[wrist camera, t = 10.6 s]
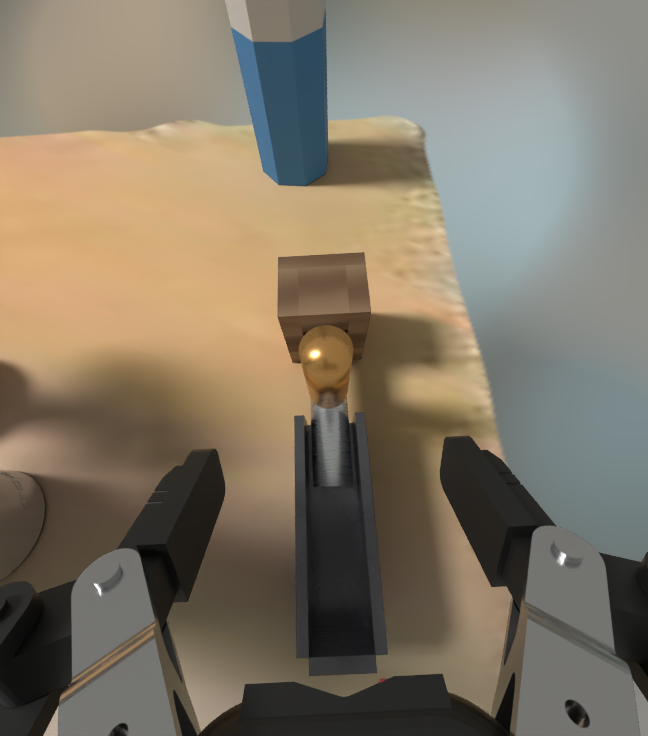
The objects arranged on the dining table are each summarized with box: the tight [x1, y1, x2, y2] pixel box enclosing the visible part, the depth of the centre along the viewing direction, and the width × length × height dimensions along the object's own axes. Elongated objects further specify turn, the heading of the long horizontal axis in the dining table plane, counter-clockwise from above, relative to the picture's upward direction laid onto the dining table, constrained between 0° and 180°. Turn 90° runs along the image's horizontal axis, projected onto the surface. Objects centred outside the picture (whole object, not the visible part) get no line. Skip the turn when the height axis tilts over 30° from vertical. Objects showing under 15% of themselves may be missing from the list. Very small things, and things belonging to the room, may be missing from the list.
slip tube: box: [299, 325, 353, 487], centre depth 22 cm, size 16×3×11 cm, turn 3°
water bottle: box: [225, 0, 328, 186], centre depth 30 cm, size 9×9×25 cm
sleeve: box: [294, 412, 388, 676], centre depth 23 cm, size 15×5×6 cm, turn 3°
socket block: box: [278, 252, 371, 363], centre depth 28 cm, size 6×7×9 cm
